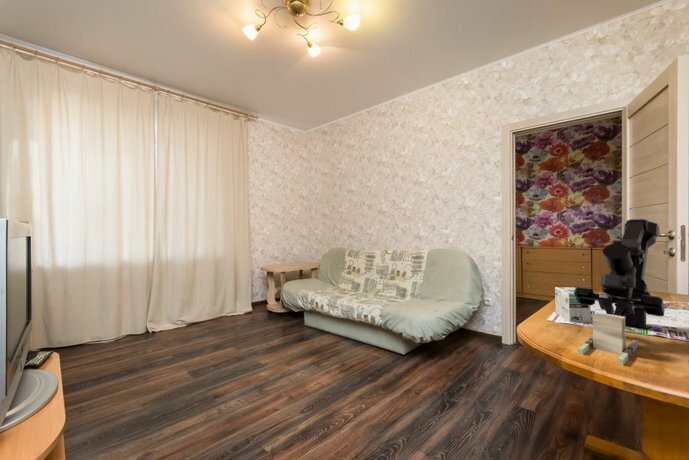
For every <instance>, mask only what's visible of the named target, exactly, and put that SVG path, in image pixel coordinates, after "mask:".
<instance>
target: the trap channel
mask: <svg viewBox="0 0 689 460" xmlns="http://www.w3.org/2000/svg"><path fill="white" fill-rule="evenodd" d="M638 347H639V340H638V339H632V340H631V342H630V343H629V344H628V346H626V349H625V351H624V352H623V353H622V354H619V356H618V358H617V365H619V366H624V365H625V364H626V363H627V361H628V360H629V359H630V357H631V356H632V355H633V353H634V352H635V351H636V349H637V348H638ZM591 348H593V335H592V336H591V337H589V339H588V340H586V341H585V342H584V343H583V344H581V345H580V346H579V347H578V348H577V354H578V355H582V356H583V355H584V354H585V353H587V351H589V350H590V349H591Z"/></svg>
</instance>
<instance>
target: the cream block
mask: <svg viewBox="0 0 689 460" xmlns="http://www.w3.org/2000/svg"><path fill="white" fill-rule="evenodd" d="M626 333H627V332H626V326H625V317H622V316H616V315H611V314H606V312H604V313H603V312H597V311H596V312H595V313H594V314H593V315H592V336H593V346H592V348H593V349H597V350H601V351H605V352H609V353H613V354H616V355H621V354H622V353H623V352H624V351H625V349H626V348H627V345H626V342H627V341H626V340H627V339H626V338H627V337H626V335H627V334H626Z"/></svg>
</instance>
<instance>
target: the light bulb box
mask: <svg viewBox="0 0 689 460" xmlns="http://www.w3.org/2000/svg"><path fill="white" fill-rule="evenodd" d="M576 288H577V287H574V286H573V287H566V286H565V287H561V286H558V287H557V286H555V287H554V298H555V300H554V301H555V315H557V316H560V317H561V318H563V319H564V320H566V321H567V322H569V323H591V322H592V317H591V315H592V311H591V305H585V304H580V303H578V301H577V299H576V296H575V294H574V292H575V289H576Z"/></svg>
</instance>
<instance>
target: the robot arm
mask: <svg viewBox="0 0 689 460" xmlns="http://www.w3.org/2000/svg"><path fill="white" fill-rule="evenodd" d="M659 236H660V226H659V224H658V223H656V222H653V221H649V220H648V219H645V218H634V219H633V218H632V219H627V220H626V222H625V223H624V227H623V234H622V236H621V239H620V240H618V241H617V240H616V241H615V240H614V241H613V243H611V244H608V245H606V246H605V247H604V248H603V249H602V254H603V256H604V259H605V263H606V266H607V268H608V269H609V273H608V274H606V273H603V274H602V275H601V280H600V281H601V282H600V286H601V287H602V289H601V290H602V292H599V293H594V290H593V288H592V287H591V288H590V287H581V286H578V287H575V288H576V289H575V292H574V294H575V296H576V299H577V301H578V303H580V304H585V305H590V306H593V305H595V304H596V302H597V303H598V304H599V307H600V309H601V310H603V311H605V314H611V315H616V316H622V317H625V327H627V328H628V327H629V328H631V329H632V328H634V329H637V330H648V329H653V327H652V325H649V324H647V315H648V316H649V315H650V316H656V317H664V316H665V308H666V307H665V303H664V299H663V298H662V297H661V296H657V295H656V296H655V295H651V291H649V289H648V285H647V283H646V281H645V279H644V278H645V274H646V273H645V271H646V265H647V259H648V253H649V248H650V247H652V246H653V245H654V244H656V241H657V237H659ZM613 304H614V305H613ZM614 307H615V309H614Z"/></svg>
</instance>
